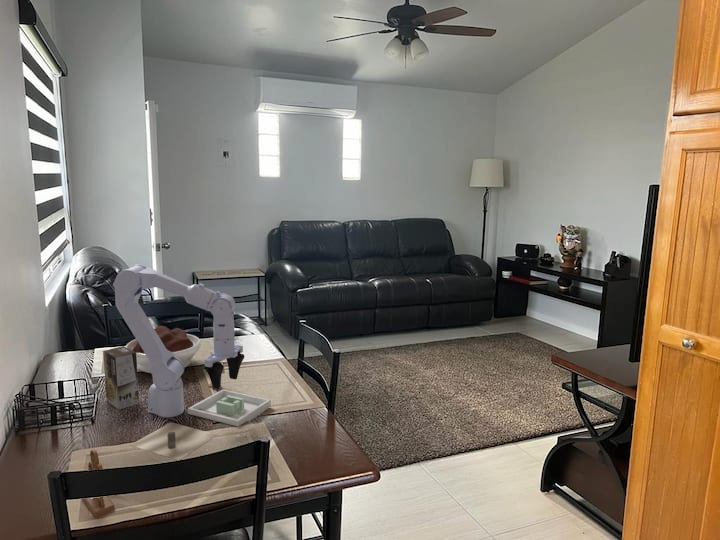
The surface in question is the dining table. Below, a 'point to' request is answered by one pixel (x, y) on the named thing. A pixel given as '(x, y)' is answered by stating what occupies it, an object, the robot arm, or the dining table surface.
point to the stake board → (181, 437)
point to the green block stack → (230, 405)
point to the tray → (251, 407)
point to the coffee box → (121, 377)
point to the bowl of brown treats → (169, 346)
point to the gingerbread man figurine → (103, 503)
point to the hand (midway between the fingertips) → (225, 383)
